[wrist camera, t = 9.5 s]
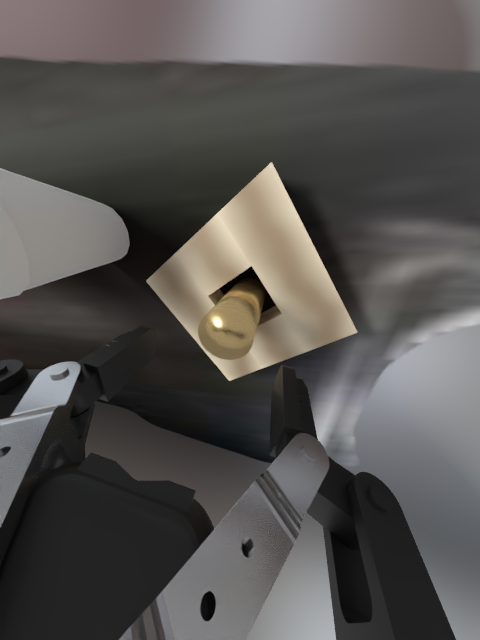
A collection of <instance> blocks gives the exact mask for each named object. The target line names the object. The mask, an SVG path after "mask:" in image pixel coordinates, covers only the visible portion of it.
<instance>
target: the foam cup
mask: <svg viewBox="0 0 480 640" xmlns="http://www.w3.org/2000/svg"><path fill="white" fill-rule="evenodd" d="M129 245H130V243H129V235H128V231H127V228H126V226H125V224H124V222H123V220H122V218H121V217H120V216H119V215H118V214H117V213H116V212H115V211H114V210H113V209H112V208H111V207H109V206H107V205H104V204H102V203H99V202H97V201H94V200H92V199H89V198H86V197H83V196H80V195H77V194H74V193H71V192H68V191H65V190H62V189H59V188H56V187H53V186H51V185H48V184H45V183H42V182H39V181H36V180H33V179H30V178H27V177H24V176H21V175H18V174H15V173H12V172H10V171H7V170H4V169H1V168H0V299H4V298H8V297H13V296H17V295H20V294H21V293H22V292H23V291H24V290H28V289H31V288H34V287H37V286H40V285H43V284H46V283H49V282H52V281H55V280H58V279H62V278H65V277H68V276H71V275H74V274H77V273H80V272H83V271H86V270H89V269H92V268H96V267H99V266H102V265H105V264H108V263H111V262H114V261H117V260H119V259H121V258H123V257H124V256H125V255H126V254H127V252H128V248H129Z"/></svg>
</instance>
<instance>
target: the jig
mask: <svg viewBox="0 0 480 640" xmlns="http://www.w3.org/2000/svg"><path fill="white" fill-rule="evenodd" d="M251 266H252V268H253V269H254V271H255V272H256V274H257V275H258V277H259V279H260V280H261V282H262V283H263V285H264V287H265V288H266V290H267V291H268V293H269V295H270V296H271V298H272V299H273V301H274V302H275V304H276V306H274V307H272V308H270V309H268V310H266V311H265V312H263V313H261V315H260V319H259V322H258V326H257V330H256V334H255V337H254V341H253V345H252V348H251V349H250V351H249V352H248V353H247V354H246V355H245V356H244V357H242V358H239V359H235V360H225V359H221V358H218V357H216V356H214V355H212V354H211V353H209V352H208V351H207V350H206V349H205V348H204V346H203V345H202V343H201V341H200V339H199V336H198V326H199V323H200V321H201V320H202V318H203V317H204V316H205V315H206V314H207V313H208V312H209V311H210V310H211V309H212V308H213V307H214V306H215V305H216V304H217V303H218V302H219V301H220V300H221V299H222V298H223V297H224V294H223V293H222V291H221V290H220V289H219V288H220V287H222V286H223V285H225V284H226V283H228V282H229V281H231V280H232V279H233V278H235V277H236V276H238V275H239V274H241V273H242V272H243V271H245V270H246V269H248V268H249V267H251ZM146 282H147V283H148V284H149V285H150V287H151V288H152V289H153V290H154V291H155V293H156V294H157V295H158V296H159V297H160V299H161V300H162V301H163V302H164V303H165V305H166V306H167V307H168V308H169V309H170V311H171V312H172V313H173V314H174V315H175V317H176V318H177V319H178V320H179V321H180V323H181V324H182V325H183V326H184V327H185V329H186V330H187V331H188V332H189V333H190V335H191V336H192V337H193V338H194V339H195V341H196V342H197V343H198V344H199V345H200V347H201V348H202V349H203V350H204V351H205V353H206V354H207V355H208V356H209V357H210V359H211V360H212V361H213V362H214V363H215V365H216V366H217V367H218V368H219V369H220V371H221V372H222V373H223V374H224V375H225V377H226V378H227V379H228V380H229V381H231V380H233V379H236V378H239V377H241V376H244V375H247V374H249V373H252V372H255V371H257V370H260V369H262V368H265V367H268V366H270V365H273V364H276V363H278V362H281V361H284V360H286V359H289V358H292V357H294V356H297V355H300V354H302V353H305V352H308V351H310V350H313V349H316V348H318V347H321V346H323V345H326V344H329V343H331V342H334V341H337V340H339V339H342V338H345V337H347V336H350V335H353V334H355V333H358V332H357V330H356V328H355V326H354V324H353V322H352V320H351V318H350V316H349V314H348V312H347V310H346V308H345V306H344V304H343V302H342V300H341V298H340V296H339V294H338V292H337V290H336V288H335V286H334V284H333V283H332V281H331V279H330V277H329V275H328V273H327V271H326V269H325V267H324V265H323V263H322V261H321V259H320V257H319V255H318V253H317V251H316V249H315V247H314V245H313V243H312V241H311V239H310V237H309V235H308V233H307V231H306V229H305V227H304V225H303V223H302V221H301V219H300V217H299V215H298V213H297V211H296V209H295V207H294V205H293V203H292V201H291V199H290V197H289V195H288V193H287V192H286V190H285V188H284V186H283V184H282V182H281V180H280V178H279V176H278V174H277V172H276V170H275V168H274V166H273V164H272V162H271V163H270V164H269V165H268V166H267V167H266V168H265V169H264V170H263V171H262V172H261V173H260V174H258V175H257V176H256V177H255V178H254V179H253V180H252V181H251V182H250V183H249V184H248V185H247V186H246V187H245V188H244V189H243V190H242V191H240V192H239V193H238V194H237V195H236V196H235V197H234V198H233V199H232V200H231V201H230V202H229V203H228V204H227V205H226V206H225V207H224V208H222V209H221V210H220V211H219V212H218V213H217V214H216V215H215V216H214V217H213V218H212V219H211V220H210V221H209V222H208V223H207V224H206V225H204V226H203V227H202V228H201V229H200V230H199V231H198V232H197V233H196V234H195V235H194V236H193V237H192V238H191V239H190V240H189V241H188V242H187V243H185V244H184V245H183V246H182V247H181V248H180V249H179V250H178V251H177V252H176V253H175V254H174V255H173V256H172V257H171V258H170V259H169V260H167V261H166V262H165V263H164V264H163V265H162V266H161V267H160V268H159V269H158V270H157V271H156V272H155V273H154V274H153V275H152V276H151V277H149V278H148V279H147V280H146Z"/></svg>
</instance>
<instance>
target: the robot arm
mask: <svg viewBox="0 0 480 640" xmlns="http://www.w3.org/2000/svg"><path fill="white" fill-rule="evenodd" d="M155 353H156V336H155V330H154V329H151V328H147V327H143V326H140V327H138V328H137V329H135V330H134V331H132V332H128V333H125V334H122V335H120V336H118V337H117V338H115V339H113V341H110V342H109V343H107V344H106V345H104V346H102V347H101V348H99V349H97V350H96V351H94V352H93V353H91V354H89V355H88V356H86V357H85V358H83V359H81V360H80V361H78V362H62V363H58V364H55V365H52V366H50V367H48V368H46V369H44V370H29V369H26V368H25V366H24V365H23V363H22V362H21V361H19V360H3V361H0V640H246V638H247V636H248V634H249V632H250V630H251V628H252V626H253V624H254V622H255V620H256V618H257V616H258V615H259V613H260V611H261V609H262V607H263V604H264V603H265V600H266V599H267V597H268V595H269V593H270V591H271V589H272V587H273V585H274V583H275V581H276V579H277V577H278V575H279V573H280V571H281V569H282V567H283V565H284V563H285V561H286V559H287V557H288V555H289V553H290V551H291V549H292V547H293V545H294V543H295V541H296V539H297V537H298V534H299V532H300V528H301V527H300V525H301V522H302V520H303V518H304V516H305V514H306V512H307V513H308V514H309V515H310V516H312V517H313V518H314V519H315V520H317V521H318V522H319V523H320V524H321V525H322V526H323V530H324V539H325V547H326V556H327V564H328V572H329V581H330V589H331V598H332V607H333V614H334V624H335V632H336V640H456V639H455V636H454V634H453V631H452V629H451V627H450V624H449V622H448V619H447V617H446V615H445V612H444V610H443V607H442V605H441V602H440V600H439V598H438V595H437V593H436V591H435V588H434V586H433V583H432V581H431V579H430V576H429V574H428V571H427V569H426V567H425V564H424V562H423V559H422V557H421V555H420V552H419V550H418V548H417V545H416V543H415V540H414V538H413V535H412V533H411V531H410V528H409V526H408V523H407V521H406V519H405V516H404V514H403V511H402V509H401V507H400V505H399V503H398V501H397V499H396V498H395V496H394V495H393V493H392V492H391V491H390V490H389V488H388V487H387V486H386V485H385V484H384V483H383V482H382V481H381V480H379V479H378V478H377V477H375V476H374V475H372V474H370V473H367V472H360V473H358V474H357V475H356V476H355V475H354V474H352V473H351V472H349V471H348V470H346V469H345V468H343V467H342V466H340V465H339V464H337V463H336V462H335V461H333V460H332V459H331V458H330V457H329V456H328V454H327V452H326V450H325V448H324V447H323V445H322V444H321V443H320V442H319V441H318V439H317V435H316V430H315V425H314V420H313V415H312V410H311V406H310V399H309V394H308V389H307V387H306V385H305V384H304V382H303V380H301V379H297V378H296V374H295V369H294V368H292V367H288V366H285V365H281V366H280V368H279V371H278V373H277V376H276V378H275V381H274V384H273V388H272V400H271V427H270V454H269V455H270V456H273V457H276V459H275V461H274V462H273V463H272V464H271V466H270V467H269V468H268V469H267V470H266V471H265V472H264V473H263V474H261V475H260V476H259V477H258V478H257V479H256V481H255V482H254V483H253V484H252V485H251V486H250V488H249V489H248V490H247V491H246V492H245V493H244V495H243V496H242V497H241V498H240V499H239V501H238V502H237V503H236V504H235V505H234V507H233V508H232V509H231V510H230V511H229V512H228V514H227V515H226V516H225V517H224V518H223V520H222V521H221V522H220V523H219V524H218V526H217V527H216V528H215V529H214V527H213V525H212V522H211V520H210V518H209V516H208V515H207V513H206V511H205V510H204V508H203V507H202V506H201V505H200V504H199V503H198V502H197V501H196V500H195V493H196V491H195V490H193V489H190V488H187V487H185V486H182V485H179V484H176V483H174V482H171V481H137V480H135V479H133V478H132V477H131V476H130V475H129V474H128V473H127V472H126V471H125V470H124V469H123V468H122V467H121V466H120V465H119V464H118V463H117V462H116V461H113V460H110V459H108V458H105V457H102V456H99V455H97V454H94V453H90V454H89V455H88V457H87V458H86V459H85V442H86V438H87V434H88V430H89V426H90V422H91V418H92V414H93V411H94V406H95V405H94V402H95V401H96V400H98V399H102V400H105V401H109V400H110V399H111V398H112V397H113V396H114V395H115V394H116V393H117V392H118V391H119V390H120V389H121V388H122V387H123V386H124V385H125V384H126V383H127V382H128V381H129V380H130V379H132V378H133V377H134V376H135V375H136V374H137V373H138V372H139V371H140V370H141V369H142V368H143V367H144V366H145V365H146V364H147V363H148V362H149V361H150V360H151V359H152V358H153V357H154V355H155Z"/></svg>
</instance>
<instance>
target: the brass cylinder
mask: <svg viewBox="0 0 480 640" xmlns="http://www.w3.org/2000/svg"><path fill="white" fill-rule="evenodd" d="M264 300H265V289H264V287H263V285H262V284H261V283H260V282H259V281H258V280H256V279H253V278H244V279H241V280H240V281H238V282H237V283H236V284H235V285H234V286H233V287H232V289H231V290H230V291H229V292H228V293H227V294H226V295H225V296H224V297H223V298H222V299H221V300H220V301H219V302H218V303H217V304H216V305H215V306H214V307H213V308H212V309H211V310H210V311H209V312H208V313H207V314H206V315H205V316H204V317H203V318H202V320H201V321H200V323H199V326H198V336H199V339H200V341H201V343H202V345H203V346H204V348H205V349H206V350H207V351H208V352H209V353H211V354H212V355H214V356H216V357H218V358H221V359H225V360H235V359H239V358H242V357H244V356H245V355H246V354H247V353H248V352H249V351H250V349H251V348H252V345H253V341H254V337H255V334H256V330H257V326H258V322H259V319H260V315H261V311H262V308H263V304H264Z"/></svg>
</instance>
